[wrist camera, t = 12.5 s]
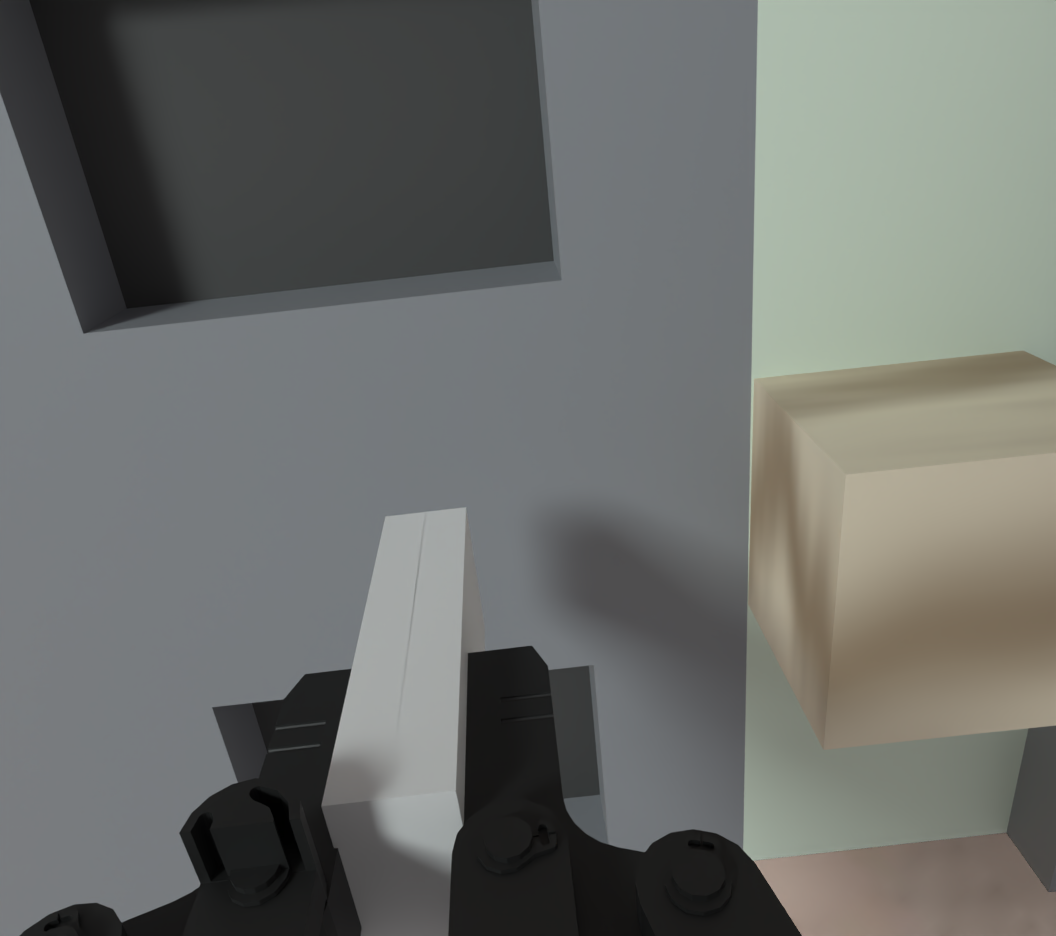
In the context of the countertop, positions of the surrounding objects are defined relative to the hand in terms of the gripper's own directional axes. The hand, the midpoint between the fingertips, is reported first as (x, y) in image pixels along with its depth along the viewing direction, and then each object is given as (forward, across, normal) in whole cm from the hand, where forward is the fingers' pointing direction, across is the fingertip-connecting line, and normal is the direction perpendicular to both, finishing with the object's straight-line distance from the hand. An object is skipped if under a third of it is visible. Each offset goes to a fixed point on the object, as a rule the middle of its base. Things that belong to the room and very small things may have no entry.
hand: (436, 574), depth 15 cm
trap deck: (+6, -2, -1) cm, 6 cm away
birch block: (+4, +10, -1) cm, 11 cm away
